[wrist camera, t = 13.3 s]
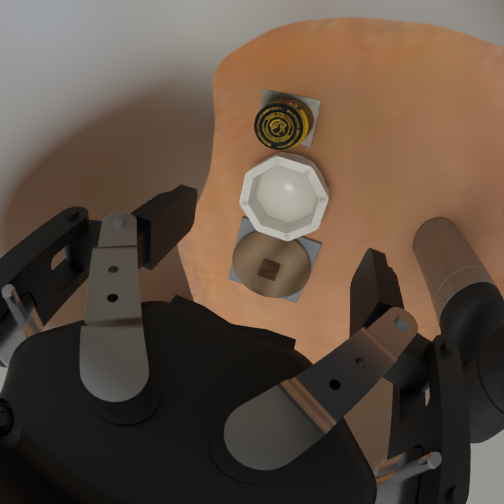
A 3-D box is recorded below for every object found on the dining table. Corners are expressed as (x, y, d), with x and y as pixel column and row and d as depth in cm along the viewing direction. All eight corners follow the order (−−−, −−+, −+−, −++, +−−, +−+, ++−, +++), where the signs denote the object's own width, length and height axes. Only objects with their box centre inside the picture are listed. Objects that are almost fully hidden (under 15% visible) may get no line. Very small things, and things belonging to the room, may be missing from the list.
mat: (321, 242, 45) (321, 244, 44) (296, 300, 53) (296, 302, 52) (243, 216, 46) (242, 217, 46) (230, 277, 54) (229, 279, 54)
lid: (322, 245, 44) (319, 267, 39) (295, 303, 52) (290, 325, 47) (243, 217, 46) (230, 234, 41) (228, 278, 54) (217, 298, 49)
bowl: (336, 167, 38) (337, 175, 34) (312, 234, 44) (309, 249, 40) (260, 143, 39) (251, 148, 35) (244, 211, 46) (234, 223, 42)
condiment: (310, 147, 37) (302, 164, 28) (255, 134, 39) (227, 148, 29) (321, 100, 33) (316, 99, 23) (263, 89, 34) (236, 85, 25)
